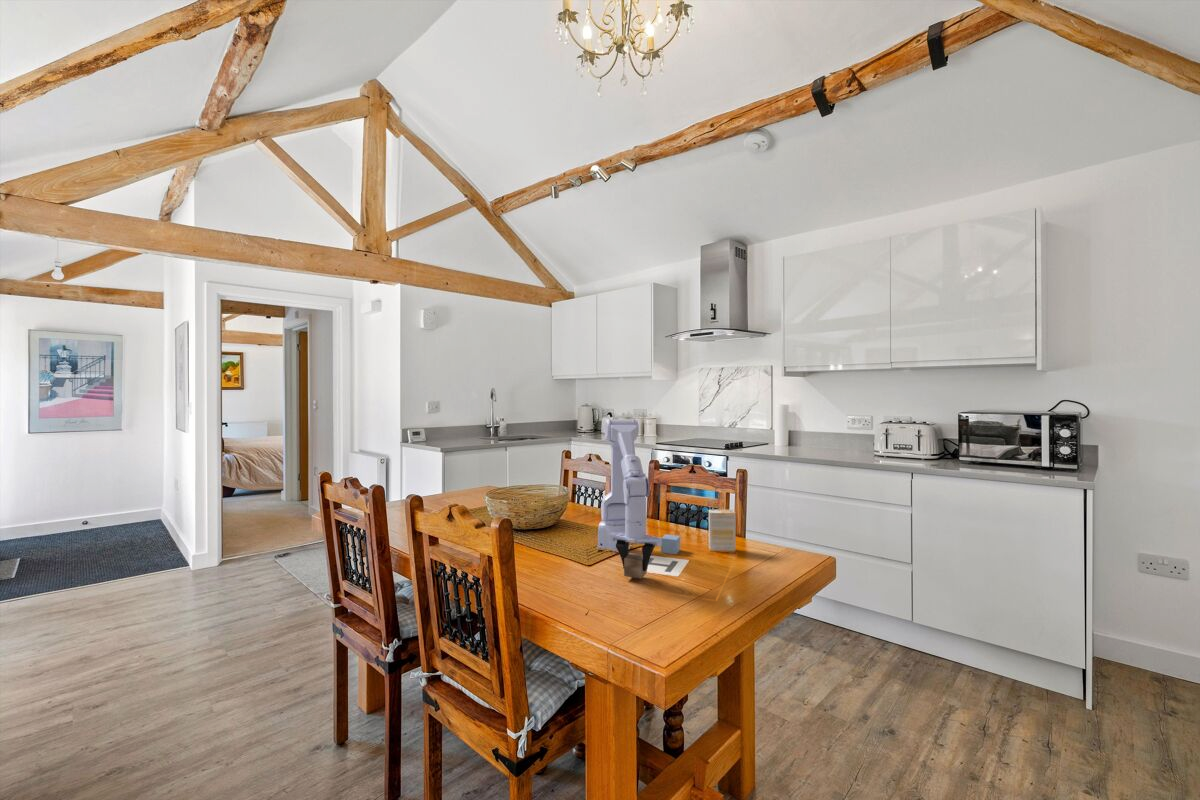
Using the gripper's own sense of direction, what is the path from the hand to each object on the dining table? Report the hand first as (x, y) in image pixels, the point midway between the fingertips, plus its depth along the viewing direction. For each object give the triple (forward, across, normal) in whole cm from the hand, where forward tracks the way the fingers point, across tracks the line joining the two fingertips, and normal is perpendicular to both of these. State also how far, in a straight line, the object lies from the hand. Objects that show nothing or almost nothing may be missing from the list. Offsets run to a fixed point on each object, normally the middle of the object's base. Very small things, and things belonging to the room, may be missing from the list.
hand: (635, 568), depth 151 cm
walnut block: (+2, 0, 0) cm, 2 cm away
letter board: (+3, +3, +14) cm, 15 cm away
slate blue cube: (+3, +3, +28) cm, 28 cm away
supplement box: (+3, +18, +36) cm, 40 cm away
